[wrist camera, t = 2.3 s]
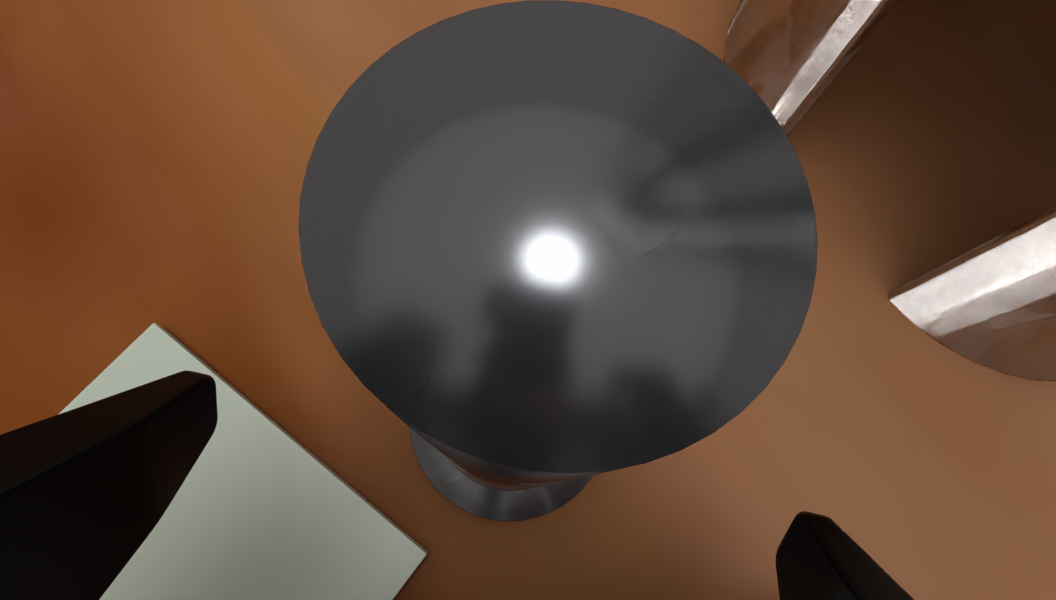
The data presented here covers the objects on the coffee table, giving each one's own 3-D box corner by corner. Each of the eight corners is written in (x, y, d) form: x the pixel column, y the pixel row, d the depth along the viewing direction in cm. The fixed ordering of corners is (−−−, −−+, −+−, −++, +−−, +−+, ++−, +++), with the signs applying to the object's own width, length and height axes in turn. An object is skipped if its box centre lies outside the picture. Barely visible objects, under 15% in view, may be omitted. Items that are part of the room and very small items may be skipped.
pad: (129, 949, 14) (114, 968, 14) (-158, 640, 16) (-183, 645, 15) (428, 552, 17) (426, 553, 17) (163, 328, 19) (153, 322, 18)
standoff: (527, 563, 18) (666, 802, 4) (373, 436, 18) (29, 255, 5) (639, 401, 19) (1015, 162, 6) (493, 292, 20) (503, -151, 6)
